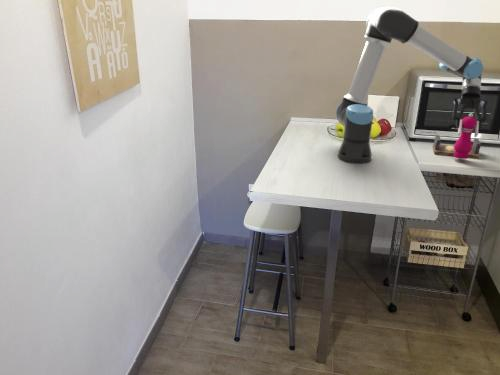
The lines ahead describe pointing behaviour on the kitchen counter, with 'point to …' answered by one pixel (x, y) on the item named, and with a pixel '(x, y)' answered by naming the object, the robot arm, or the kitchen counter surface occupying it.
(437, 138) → the level stand
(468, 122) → the pepper mill
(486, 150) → the kitchen counter surface
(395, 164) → the kitchen counter surface
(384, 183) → the kitchen counter surface
